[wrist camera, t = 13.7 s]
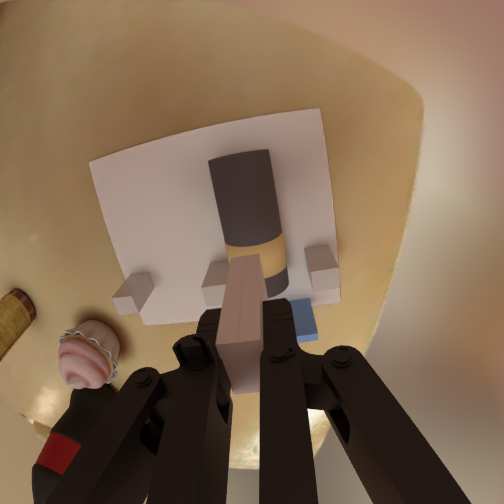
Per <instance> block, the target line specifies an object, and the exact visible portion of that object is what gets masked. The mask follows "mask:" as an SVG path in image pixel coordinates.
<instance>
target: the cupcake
mask: <svg viewBox="0 0 504 504" xmlns="http://www.w3.org/2000/svg"><path fill="white" fill-rule="evenodd" d="M58 341H59V343H60V347H59V369H60V373H61V376H62V378H63V379H64V382H65V383H66V384H67V385H69V386H70V387H72V388H75V389H82V388H85V387H86V388H93V389H97V388H100V387H102V385H103V384H104V383H108V384H109V383H110V379H118V377H117V369H118V363H117V360H118V356H119V351H120V342H119V339H118V336H117V335H116V333H115V332H114V331H113V330H112V329H111V328H110V327H109V326H108V325H106V324H105V323H103V322H101V321H98V320H87V321H85V322H83V323H82V324H80V325H79V326H78V327H76V328H74V329H70V330H65V331H64V336H61V337H59V338H58Z"/></svg>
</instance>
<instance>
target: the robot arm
mask: <svg viewBox="0 0 504 504" xmlns="http://www.w3.org/2000/svg"><path fill="white" fill-rule="evenodd" d="M196 332H197V333H196V334H192V335H187V336H185V337H183V338H181V339H179V340H178V341H177V342H176V343H175V344H174V346H173V348H172V349H173V351H174V353H175V355H176V357H177V359H178V361H179V363H180V367H179V368H178V369H175V370H173V371H170V372H166V373H163V374H159V372H158V371H157V370H156V369H154V368H152V367H145V368H141V369H138V370H137V371H135V372H133V373H132V374H131V375H130V376H129V378H128V379H127V381H126V382H125V383H124V385H123V386H122V388H121V389H120V391H119V392H118V394H117V395H116V396H115V398H114V399H113V401H112V402H111V404H110V405H109V406H108V408H107V409H106V411H105V412H104V414H103V415H102V417H101V418H100V420H99V421H98V423H97V424H96V425H95V427H94V428H93V430H92V431H91V433H90V434H89V436H88V437H87V439H86V440H85V442H84V443H83V445H82V446H81V448H80V449H79V451H78V452H77V454H76V455H75V457H74V458H73V460H72V461H71V463H70V464H69V466H68V467H67V469H66V470H65V472H64V474H63V475H62V477H61V478H60V480H59V481H58V483H57V484H56V486H55V487H54V489H53V491H52V492H51V494H50V495H49V497H48V498H47V500H46V502H45V503H44V504H143V503H144V501H145V499H146V497H147V495H148V498H147V502H146V504H226V495H227V481H228V466H229V452H230V438H231V425H232V411H233V403H232V399H231V397H230V390H231V388H232V391H233V394H242V393H253V392H260V468H259V471H260V473H259V504H318V496H317V486H316V477H315V468H314V459H313V450H312V442H311V434H310V426H309V418H308V411H307V408H308V409H317V410H324V412H325V414H326V416H327V417H328V419H329V421H330V423H331V425H332V427H333V429H334V431H335V433H336V435H337V436H338V438H339V440H340V442H341V444H342V446H343V448H344V450H345V452H346V454H347V455H348V457H349V459H350V461H351V463H352V465H353V467H354V468H355V471H356V472H357V474H358V476H359V478H360V480H361V482H362V484H363V485H364V487H365V489H366V491H367V493H368V495H369V497H370V499H371V501H372V502H373V504H471V503H470V501H469V499H468V498H467V497H466V495H465V494H464V492H463V491H462V490H461V488H460V486H459V485H458V484H457V482H456V481H455V479H454V478H453V477H452V475H451V474H450V473H449V471H448V470H447V468H446V467H445V465H444V464H443V463H442V461H441V460H440V458H439V457H438V455H437V454H436V453H435V451H434V450H433V449H432V447H431V446H430V445H429V443H428V442H427V440H426V439H425V438H424V436H423V435H422V433H421V432H420V431H419V429H418V428H417V427H416V425H415V424H414V423H413V421H412V420H411V419H410V417H409V416H408V415H407V414H406V412H405V411H404V409H403V408H402V407H401V405H400V404H399V403H398V401H397V400H396V399H395V397H394V396H393V395H392V393H391V392H390V391H389V389H388V388H387V387H386V386H385V384H384V383H383V381H382V380H381V379H380V377H379V376H378V375H377V374H376V372H375V371H374V370H373V368H372V367H371V366H370V365H369V363H368V362H367V360H366V359H365V358H364V357H363V355H362V354H361V353H360V352H359V351H358V350H357V349H356V348H353V347H351V346H342V345H341V346H336V347H333V348H331V349H329V350H327V352H326V353H325V354H324V355H314V354H309V353H307V352H305V351H303V350H302V349H301V348H300V347H299V345H298V343H297V337H296V330H295V324H294V318H293V312H292V306H291V303H290V302H289V301H288V300H287V299H286V298H280V299H274V300H268V295H267V290H266V285H265V280H264V274H263V269H262V264H261V259H260V254H253V255H247V256H240V257H234V258H231V260H230V265H229V271H228V276H227V282H226V287H225V293H224V298H223V304H222V308H215V309H207V310H206V311H205V312H204V313H203V314H202V315H201V316H200V319H199V323H198V327H197V331H196Z"/></svg>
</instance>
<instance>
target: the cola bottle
mask: <svg viewBox="0 0 504 504" xmlns="http://www.w3.org/2000/svg"><path fill="white" fill-rule="evenodd" d="M116 395H117V394H116V393H115V392H114V391H113V390H112V389H111V388H110V387H109V386H108V385H106V384H105V383H104V384H103V385H102V387H100V388H97V389H93V388H86V387H85V388H82V389H75V388H74V389H73V391H72V394H71V399H70V406H69V408H68V409H67V411H66V412H65V413H64V414H63V416H62V417H61V418H60V419H59V420H58V422H57V423H56V424H55V425H54V427H53V428H52V430H51V431H50V435H49V437H48V439H47V441H46V443H45V445H44V447H43V449H42V451H41V453H40V455H39V457H38V459H37V461H36V464H34V466H33V468H32V491H33V499H34V504H44V503H45V502H46V500H47V498H48V497H49V495H50V494H51V492H52V491H53V489H54V487H55V486H56V484H57V483H58V481H59V480H60V478H61V477H62V475H63V474H64V472H65V470H66V469H67V467H68V466H69V464H70V463H71V461H72V460H73V458H74V457H75V455H76V454H77V452H78V451H79V449H80V448H81V446H82V445H83V443H84V442H85V440H86V439H87V437H88V436H89V434H90V433H91V431H92V430H93V428H94V427H95V425H96V424H97V423H98V421H99V420H100V418H101V417H102V415H103V414H104V412H105V411H106V409H107V408H108V406H109V405H110V404H111V402H112V401H113V399H114V398H115V396H116Z"/></svg>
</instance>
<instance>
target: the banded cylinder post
mask: <svg viewBox="0 0 504 504" xmlns="http://www.w3.org/2000/svg"><path fill="white" fill-rule="evenodd" d="M208 165H209V170H210V175H211V180H212V185H213V189H214V194H215V199H216V203H217V208H218V213H219V217H220V222H221V227H222V231H223V236H224V243H225V247H226V252H227V256H228V261H229V265H230V260H231V258H234V257H240V256H247V255H253V254H260V259H261V264H262V269H263V274H264V280H265V285H266V290H267V295H268V298H271V297H274V296H277V295H279V294H281V293H282V292H283V291H285V290H286V289H287V287H288V285H289V278H288V270H287V259H286V252H285V245H284V238H283V231H282V228H281V222H280V215H279V209H278V202H277V196H276V189H275V183H274V177H273V171H272V165H271V159H270V153H269V149H263V150H254V151H247V152H241V153H235V154H231V155H226V156H222V157H218V158H214V159H211V160H208Z"/></svg>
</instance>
